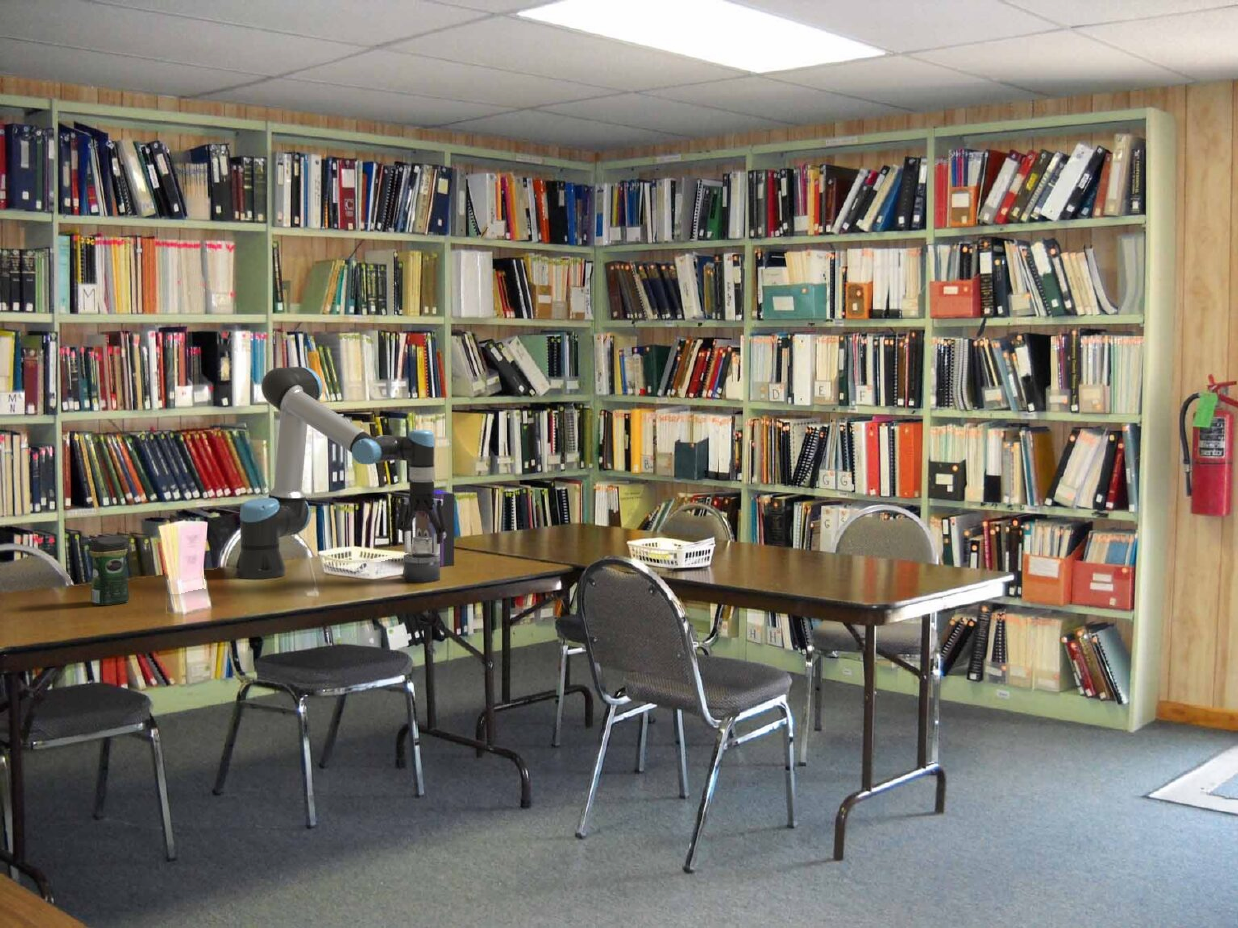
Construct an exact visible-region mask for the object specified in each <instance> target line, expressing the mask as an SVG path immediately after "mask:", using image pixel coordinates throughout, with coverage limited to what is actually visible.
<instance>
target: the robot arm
mask: <svg viewBox="0 0 1238 928" xmlns="http://www.w3.org/2000/svg"><path fill="white" fill-rule="evenodd" d="M260 387H261V389H260V390H261V393H262V396H263V397H264V399H265V400H266V401H267V402H268V403H269V404H270V405H272V406H273V407H275V408H276V410H277V411H278V412H279V415H280V416H279V428H278V437H277V439H278V440H277V451H276V453H277V454H276V460H275V461H276V462H275V472H274V473H275V474H274V487H273V488H272V489H270V490H269V491H268V497H259V498H253V499H248V500H246V501H244V502H242V504H241V505H240V512H239V513H240V514H239V521H240V522H239V524H240V526H239V527H240V530H239V531H240V532H239V533H240V552H239V555H238V559H237V561H236V565H235V569H234V570H235V571H234V576H235V577H237V578H242V579H252V580H253V579H255V580H257V579H271V578H278V577H279V578H280V577H282V576H285V575H286V566H285V562H284V560H283V559H284V558H283V557H282V553H281V551H280V538H283V537H286V536H289V537H290V536H294V535H296V534H298V533H301V532H302V531H304V530H305V529H306V528H307V527H308V526H309V524H310V521H311V518H312V517H311V516H312V509H311V506H309V504H308V501H306V500H307V499H306V498H307V494H305V492H304V491H303V480H304V479H303V478H304V468H305V467H304V466H305V457H306V456H305V455H306V445H307V434H308V426H310V427H312V428H313V429H314V430H316V431H317V432H319V433H320V434H322V435H324V436H325V437H326V438H328V439H329V440H331V441H332V442H334V443H335V444H338V445H339V446H341V447H342V448H344V449H345V450H347V451H349V452H350V453H351V455H352V457H353V459H354V460H355V461H356V463H358V464H360V465H372V464H378V463H384V462H390V461H405V462H406V461H407V462H409V463H408V464H409V465H408V466H409V467H408V468H409V480H410V482H409V496H408V497H405V496H404V497H402V498H400V499H399V501H400V502H399V504H400V508H399V512H398V516H397V522H396V526H395V528H396V530H399V531H401V540H402V543H404V554H410V553H412V539H411V538H412V537H411V536H412V531H411V530H410V528H411V524H412V523H413V521H414V519H415V515H416V513H417V512H418V511H420V510H421V511H426V513H427V514H428V516H429V518H430V520H431V522H432V525H433V527H434V529H435V531H436V533H435V534H434V555H437V554H440V544H441V543H442V533H443V532H445V531H448V525H447V521H446V516H445V511H444V507H443V506H444V500H443V499H440V500H439V499H435V497H434V490H435V482H434V481H433V480H435V437H434V432H433V431H432V430H428V429H412V430H410V431H409V434H408V436H407V435H405V436H402V435H389V434H385V435H378V436H375V437H374V436H372V435H371V434H369V433H367V432H366V431H364V430H363V429H362V428H360V427H358V426H357V425H356V424H354V423H352V422H351V421H349V420H347V419H346V418H344V417H343V416H341V415H340V414H338V413H337V412H335V411H334V410H332V409H330V408H329V407H328V406H326V405H324V404H323V403H321V402H320V401H318V400H319V399H320V398H321V397H322V393H323V383H322V379H321V378H320V376H319V375H318V373H317V372H316V371H315V370H313V369H311V368H309V367H303V366H288V367H276V368H273V369H271V370H269V371H268V372H266V374H265V375H264V376H263V378H262V381H261V385H260ZM409 503H410V505H411V506H410V509H409V513H408V514H407V511H408V505H409ZM434 503H435V505H436V506H437V512H438V517H439V521H438V519H437V516H436V514H435V512H434V508H433V506H432V505H433V504H434ZM406 515H407V517H406ZM439 522H440V523H439Z"/></svg>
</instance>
